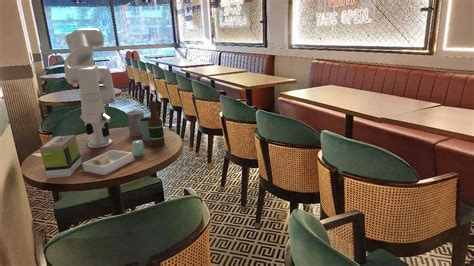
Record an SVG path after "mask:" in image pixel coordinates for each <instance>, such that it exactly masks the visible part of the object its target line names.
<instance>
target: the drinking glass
mask: <svg viewBox="0 0 474 266" xmlns="http://www.w3.org/2000/svg"><path fill="white" fill-rule="evenodd" d="M149 119H150V116H144V118H141V119H139V120H138V122H139V126H140V128H141V133H142V135H141V137H142V141H143V140H144V141H143V142H150V135H149V127H148V122H149Z"/></svg>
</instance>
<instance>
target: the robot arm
mask: <svg viewBox="0 0 474 266" xmlns="http://www.w3.org/2000/svg"><path fill="white" fill-rule="evenodd" d="M65 42H66V45H67V48H68V49H69V51H70V53H68V55H67V56H66V57H65V60H64V63H63V67H64V68H63V69H64V77H65V79H66V81H67V83H68V84H69V85H78V87H79V99H80V105H81V107H80V109H81V110H80V111H81V115H80V116H79V117H80V119H81V121H82V123H83V126H84V127H85V130H86V135H87V136H88V137H86V141H89V142H88V144H87V146H88V148H91V149H97V148H99V149H100V148H105V147H107V146H110V145H111V144H112V143H113V139H110V138H109V136H110V129H109V127H110V125H111V122H112V121H111V119H112V118H111V117H110V116H109V115H107V112H106V110H105V109H106V108H105V105H109V104H110V105H111V104H113V103H115V101H116V92H115V86H114V83H113V78H112V77H113V76H112V74H111V70H110V68H109V67H108V66H104V65H103V66H100V65H99V66H97V65H95V61H94V57H93V56H94V50H95V49H96V50H97V49H98V50H99V49H103V47H104V44H105V38H104V34H103V32H102V31H101V29H99V28H96V27H95V28H94V27H93V28H77V29H74V30H73V31H71V32H70V33H68V34H67V35H66V36H65ZM100 85H102V86H100Z"/></svg>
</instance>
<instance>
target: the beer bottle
mask: <svg viewBox="0 0 474 266" xmlns="http://www.w3.org/2000/svg"><path fill="white" fill-rule="evenodd" d="M148 105H149V110H150V111H149V112H150V116H149V117H150V119H149V122H148V127H149V135H150V141H149V142H150V146H151V147H153V148H159V147H160V148H161V147H163V146H165V134H164V125H163V121H162V120H163V119H162V118H161V117H160V116H159V114H158V107H157V102H156V101H155V100H151V101H149V102H148Z"/></svg>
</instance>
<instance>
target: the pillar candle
mask: <svg viewBox="0 0 474 266" xmlns="http://www.w3.org/2000/svg"><path fill="white" fill-rule="evenodd" d="M144 117H145V114H144V110H141V109H140V110H139V109H137V110H135V109H134V110H130V111H127V112H126V118H127V123H128V124H127V125H128V131H129V136H131V137H140V136H141V137H142V133H141V128H140V126H139V122H138V120H139V119H141V118H144Z"/></svg>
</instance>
